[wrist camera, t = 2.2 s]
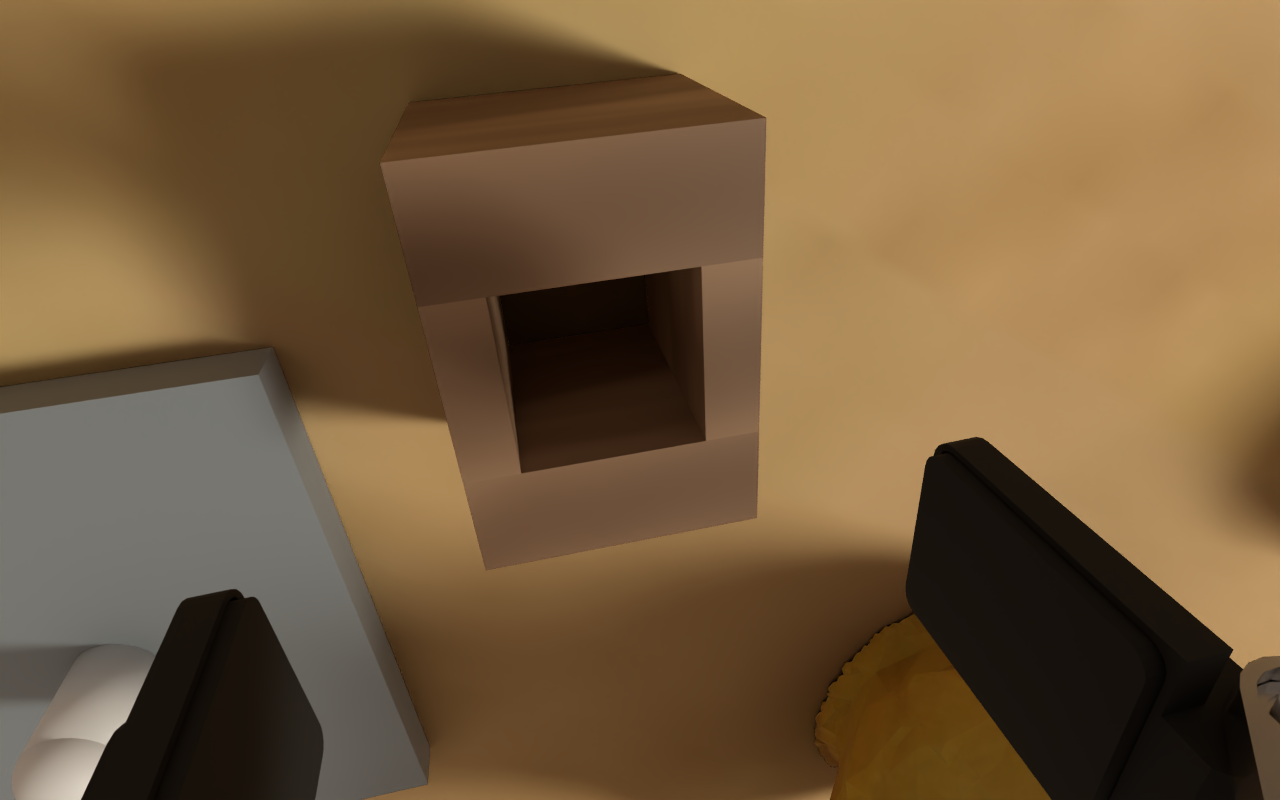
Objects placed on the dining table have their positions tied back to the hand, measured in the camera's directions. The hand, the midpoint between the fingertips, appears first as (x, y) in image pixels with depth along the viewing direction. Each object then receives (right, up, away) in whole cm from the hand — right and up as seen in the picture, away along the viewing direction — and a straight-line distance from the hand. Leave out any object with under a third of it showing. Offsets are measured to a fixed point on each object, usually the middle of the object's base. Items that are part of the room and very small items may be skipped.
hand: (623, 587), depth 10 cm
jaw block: (-2, +6, +9) cm, 11 cm away
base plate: (-16, -5, +12) cm, 20 cm away
